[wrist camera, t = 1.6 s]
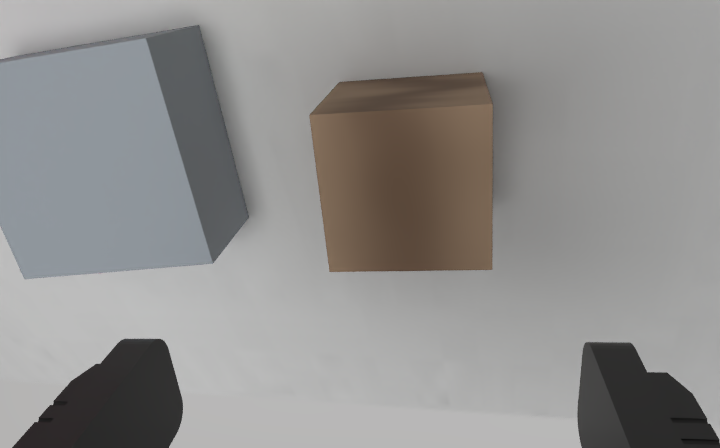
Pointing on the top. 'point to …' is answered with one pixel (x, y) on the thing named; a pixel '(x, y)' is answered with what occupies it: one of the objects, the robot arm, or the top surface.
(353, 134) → the walnut block
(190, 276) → the top surface
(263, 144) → the top surface
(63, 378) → the top surface
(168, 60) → the slate base block
